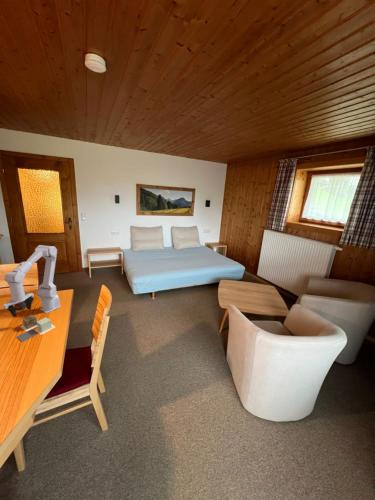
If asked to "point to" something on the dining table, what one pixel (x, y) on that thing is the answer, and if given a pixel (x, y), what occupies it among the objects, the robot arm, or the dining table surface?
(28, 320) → the walnut block
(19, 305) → the deodorant
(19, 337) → the coaster
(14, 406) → the dining table surface
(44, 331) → the card
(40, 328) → the sage block
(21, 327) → the card
